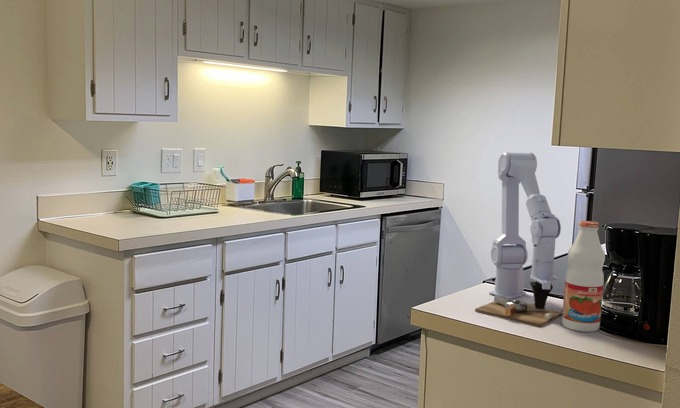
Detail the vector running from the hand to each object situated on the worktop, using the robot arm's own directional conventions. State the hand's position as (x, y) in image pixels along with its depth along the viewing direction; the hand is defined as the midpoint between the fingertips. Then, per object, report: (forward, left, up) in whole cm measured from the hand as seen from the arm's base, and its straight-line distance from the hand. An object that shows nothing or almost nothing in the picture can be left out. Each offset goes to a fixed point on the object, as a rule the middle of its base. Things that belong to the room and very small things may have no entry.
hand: (539, 308), depth 183 cm
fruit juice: (+3, +13, -2) cm, 13 cm away
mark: (+4, +4, -2) cm, 6 cm away
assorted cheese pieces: (+5, -5, -1) cm, 7 cm away
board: (+4, -4, -2) cm, 6 cm away
